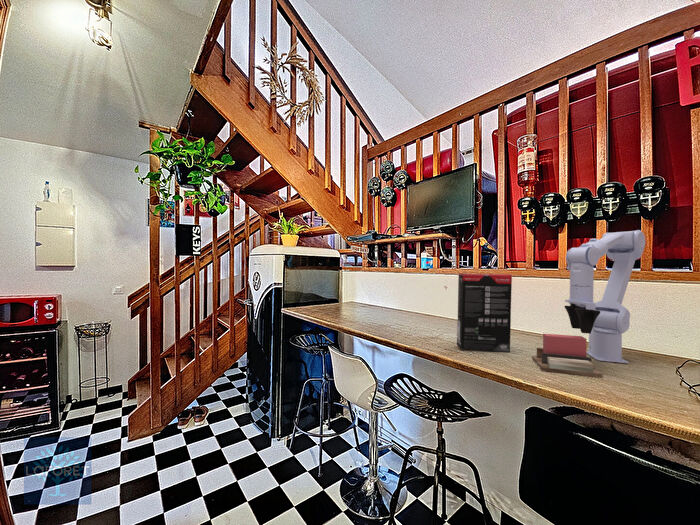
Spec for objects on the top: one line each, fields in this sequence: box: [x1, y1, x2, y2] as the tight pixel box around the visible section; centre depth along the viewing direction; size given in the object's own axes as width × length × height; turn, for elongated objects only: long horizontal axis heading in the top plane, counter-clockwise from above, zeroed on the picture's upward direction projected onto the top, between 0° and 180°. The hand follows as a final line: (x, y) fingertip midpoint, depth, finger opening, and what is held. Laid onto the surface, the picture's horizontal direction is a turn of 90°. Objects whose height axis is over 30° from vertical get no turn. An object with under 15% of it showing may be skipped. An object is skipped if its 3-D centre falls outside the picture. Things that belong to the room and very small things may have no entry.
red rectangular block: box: [542, 333, 588, 357], centre depth 89 cm, size 4×10×8 cm, turn 70°
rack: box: [531, 347, 604, 379], centre depth 87 cm, size 12×14×4 cm
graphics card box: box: [456, 273, 513, 353], centre depth 106 cm, size 17×7×27 cm, turn 84°
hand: (580, 330), depth 90 cm, fingers open, 7 cm apart
